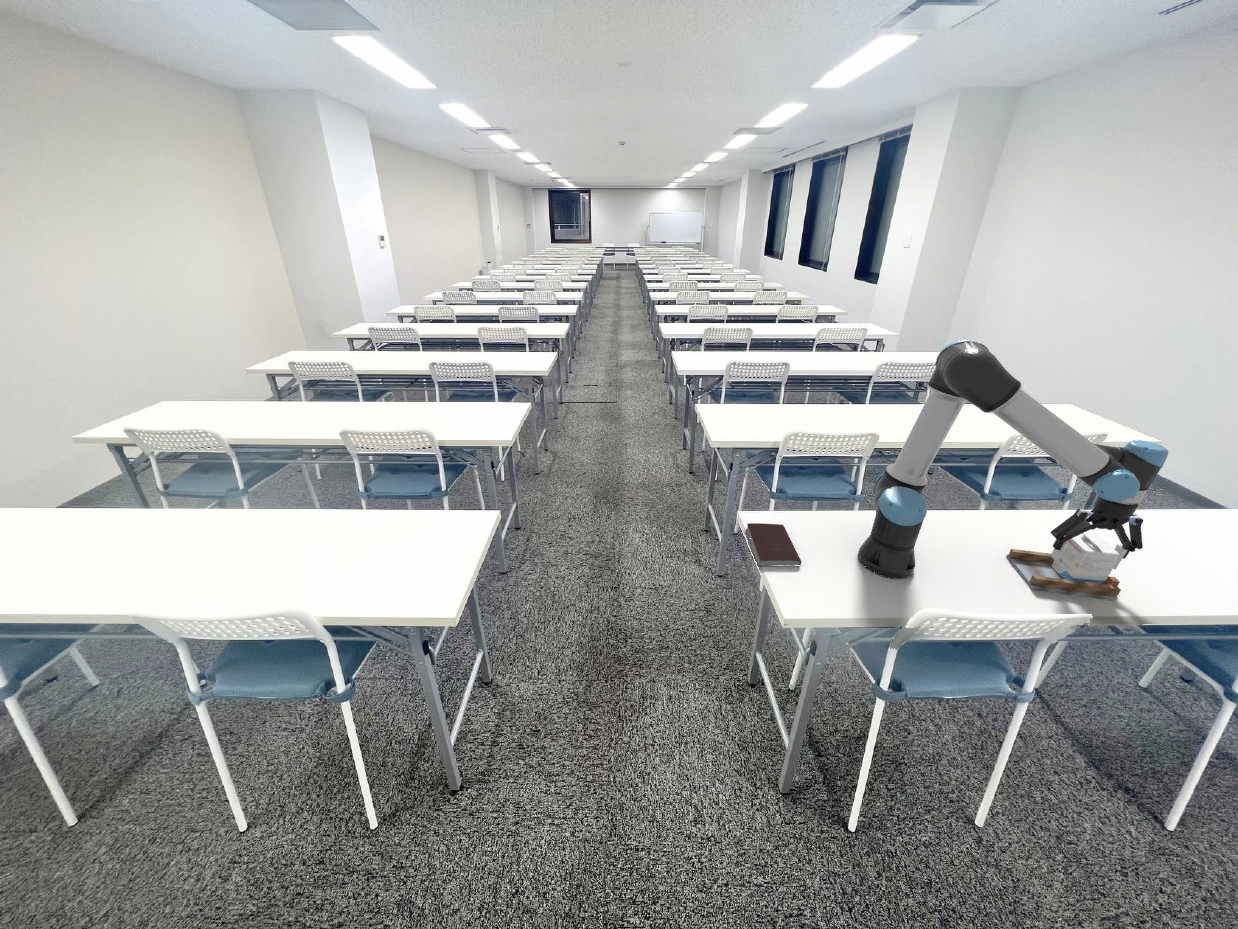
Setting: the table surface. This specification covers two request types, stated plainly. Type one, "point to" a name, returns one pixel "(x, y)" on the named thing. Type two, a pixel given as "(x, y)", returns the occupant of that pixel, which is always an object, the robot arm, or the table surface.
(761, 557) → the book
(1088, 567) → the ink box
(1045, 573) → the rail board
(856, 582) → the table surface
